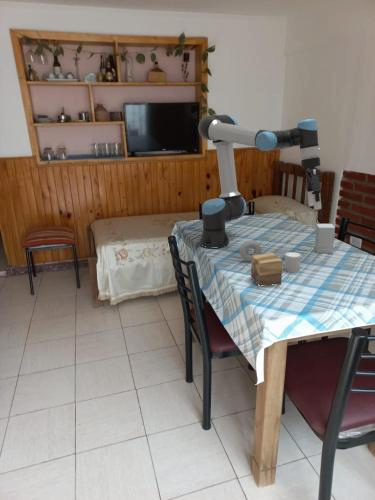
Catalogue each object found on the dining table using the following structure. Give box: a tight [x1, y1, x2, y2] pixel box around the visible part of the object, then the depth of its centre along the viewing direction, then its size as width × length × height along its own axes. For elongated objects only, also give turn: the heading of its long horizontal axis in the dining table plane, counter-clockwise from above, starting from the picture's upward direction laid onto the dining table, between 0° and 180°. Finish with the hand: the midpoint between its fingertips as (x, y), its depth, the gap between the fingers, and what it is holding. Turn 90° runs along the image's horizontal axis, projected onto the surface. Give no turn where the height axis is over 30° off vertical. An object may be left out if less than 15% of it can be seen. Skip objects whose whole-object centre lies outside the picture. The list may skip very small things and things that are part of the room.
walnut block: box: [250, 266, 283, 286], centre depth 139 cm, size 9×9×5 cm
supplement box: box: [314, 223, 336, 254], centre depth 167 cm, size 7×7×13 cm
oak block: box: [251, 252, 284, 275], centre depth 137 cm, size 9×9×5 cm
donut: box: [239, 239, 263, 262], centre depth 159 cm, size 10×3×10 cm, turn 93°
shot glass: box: [284, 251, 303, 273], centre depth 148 cm, size 7×7×7 cm
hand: (314, 207), depth 152 cm, fingers open, 13 cm apart
